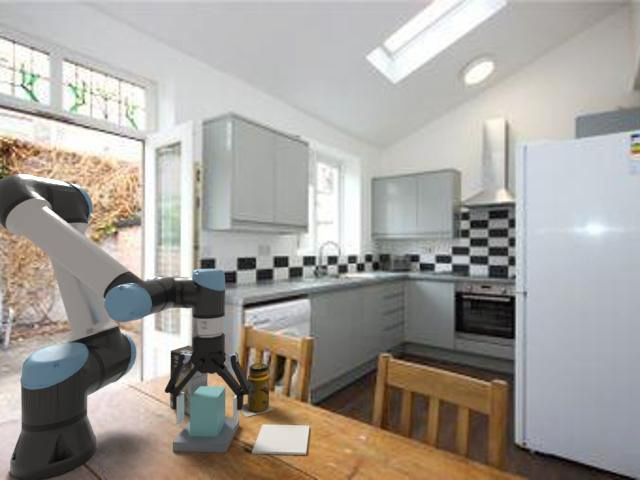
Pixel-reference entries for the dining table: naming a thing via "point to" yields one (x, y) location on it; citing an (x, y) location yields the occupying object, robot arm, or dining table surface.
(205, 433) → the teal rectangular block
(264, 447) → the mat
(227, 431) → the post base
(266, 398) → the condiment
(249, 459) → the dining table surface
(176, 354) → the coffee box
